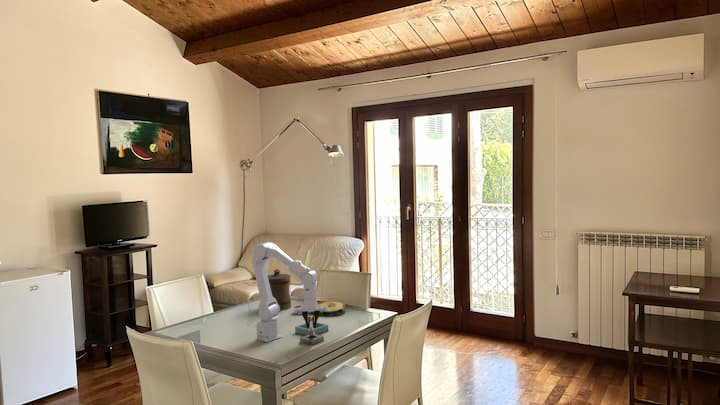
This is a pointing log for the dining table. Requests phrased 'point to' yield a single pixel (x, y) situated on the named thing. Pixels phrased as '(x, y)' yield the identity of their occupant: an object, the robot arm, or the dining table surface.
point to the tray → (318, 330)
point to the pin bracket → (311, 339)
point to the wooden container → (280, 289)
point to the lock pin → (311, 325)
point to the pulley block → (331, 308)
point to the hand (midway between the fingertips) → (311, 327)
